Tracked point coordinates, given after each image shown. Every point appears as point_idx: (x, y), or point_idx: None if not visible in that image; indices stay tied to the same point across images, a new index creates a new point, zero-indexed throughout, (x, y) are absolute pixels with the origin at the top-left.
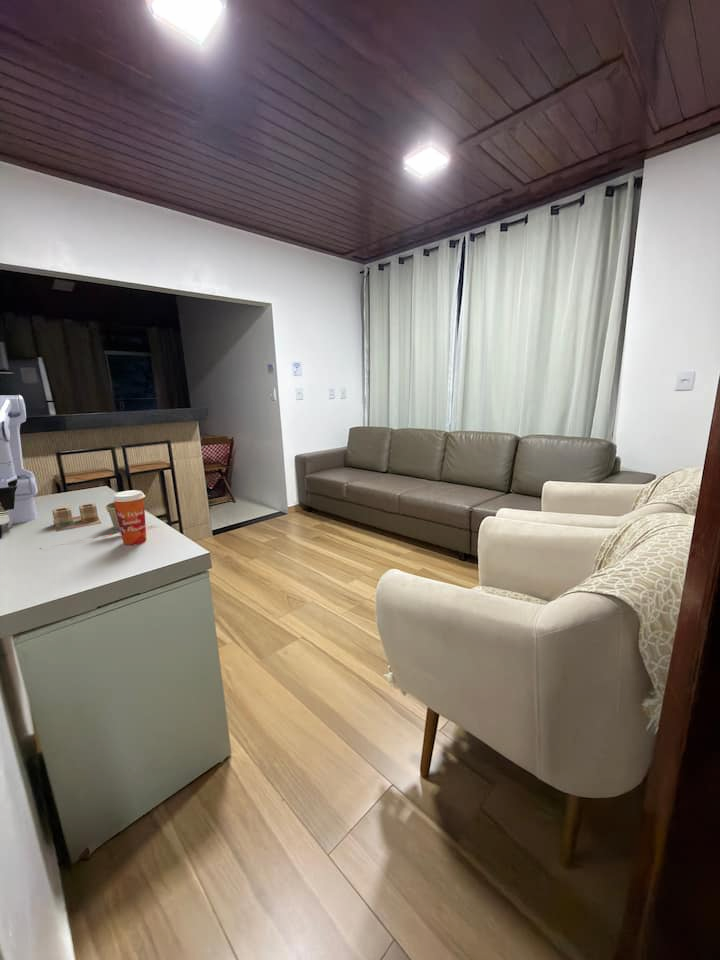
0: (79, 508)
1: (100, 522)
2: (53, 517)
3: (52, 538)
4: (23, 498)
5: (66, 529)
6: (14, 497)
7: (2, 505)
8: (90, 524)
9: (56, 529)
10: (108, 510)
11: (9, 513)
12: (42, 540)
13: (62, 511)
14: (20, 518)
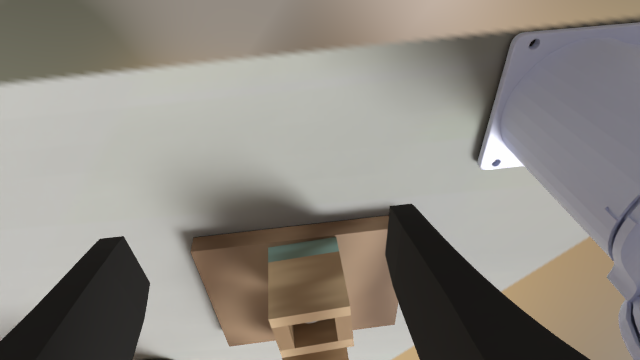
0: (330, 357)
1: (241, 343)
2: (338, 266)
3: (148, 229)
4: (616, 248)
5: (203, 277)
6: (406, 316)
7: (59, 288)
8: (232, 326)
9: (228, 250)
10: None
11: (617, 83)
12: (133, 201)
13: (276, 337)
14: (529, 119)
